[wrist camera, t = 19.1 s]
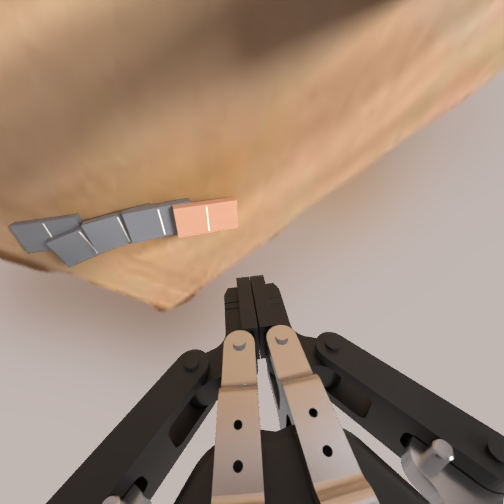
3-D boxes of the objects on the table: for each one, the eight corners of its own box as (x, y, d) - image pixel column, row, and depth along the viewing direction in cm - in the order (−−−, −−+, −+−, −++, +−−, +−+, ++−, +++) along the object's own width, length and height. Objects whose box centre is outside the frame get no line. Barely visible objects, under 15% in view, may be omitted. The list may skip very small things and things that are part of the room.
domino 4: (190, 201, 39) (122, 214, 36) (195, 229, 42) (133, 243, 39) (188, 197, 40) (122, 210, 37) (193, 225, 43) (132, 239, 40)
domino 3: (150, 205, 39) (81, 225, 36) (161, 233, 41) (98, 253, 39) (149, 202, 40) (82, 221, 37) (160, 229, 43) (99, 248, 40)
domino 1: (75, 217, 38) (8, 226, 38) (89, 244, 41) (27, 253, 41) (79, 212, 40) (15, 222, 39) (93, 239, 43) (33, 248, 42)
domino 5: (236, 200, 40) (173, 209, 37) (238, 227, 43) (178, 238, 40) (234, 196, 41) (172, 205, 38) (235, 223, 44) (177, 233, 41)
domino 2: (109, 216, 39) (45, 243, 37) (127, 242, 42) (69, 267, 40) (110, 213, 40) (49, 238, 39) (128, 237, 43) (71, 262, 42)
